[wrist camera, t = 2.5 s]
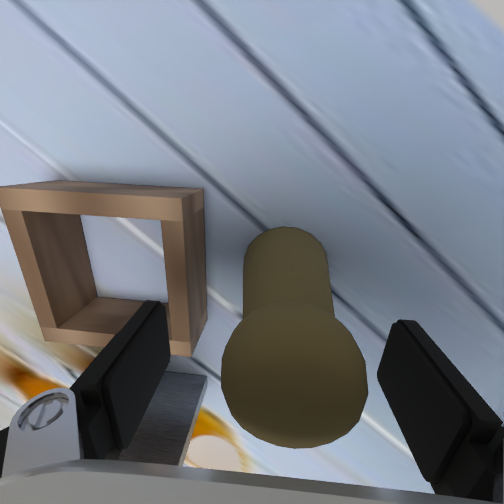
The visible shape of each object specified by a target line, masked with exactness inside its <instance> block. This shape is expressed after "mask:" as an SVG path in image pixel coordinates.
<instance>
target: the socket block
mask: <svg viewBox="0 0 504 504" xmlns="http://www.w3.org/2000/svg"><path fill="white" fill-rule="evenodd" d="M0 207H1V210H2V213H3V216H4V219H5V222H6V225H7V228H8V231H9V234H10V237H11V240H12V243H13V246H14V249H15V252H16V255H17V258H18V261H19V264H20V267H21V270H22V273H23V276H24V279H25V282H26V285H27V288H28V291H29V294H30V297H31V300H32V303H33V306H34V309H35V312H36V315H37V318H38V321H39V324H40V327H41V330H42V333H43V336H44V340H45V341H50V342H59V343H68V344H78V345H87V346H96V347H105V346H106V345H107V344H108V343H109V341H110V340H111V339H112V338H113V337H114V336H115V334H116V333H118V332H119V331H120V330H121V329H122V328H123V327H124V326H125V324H126V323H127V322H128V321H129V320H130V318H131V317H132V316H133V315H134V314H135V312H136V311H137V310H138V309H139V308H140V306H141V305H142V304H143V303H144V302H145V301H135V300H124V299H114V298H103V297H97V293H96V289H95V284H94V280H93V275H92V270H91V266H90V261H89V257H88V252H87V247H86V243H85V238H84V234H83V229H82V224H81V220H80V215H93V216H108V217H123V218H138V219H153V220H161V228H162V238H163V249H164V259H165V270H166V280H167V291H168V301H169V304H167V303H162V305H165V307H166V315H167V324H168V334H169V343H170V352H171V355H178V356H187V357H191V356H192V354H193V352H194V349H195V347H196V345H197V342H198V340H199V338H200V335H201V333H202V331H203V328H204V326H205V324H206V322H207V294H206V259H205V225H204V190H203V189H199V188H181V187H163V186H146V185H128V184H111V183H93V182H75V181H58V180H55V181H46V182H37V183H27V184H18V185H9V186H0Z"/></svg>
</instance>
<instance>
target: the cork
mask: <svg viewBox="0 0 504 504" xmlns="http://www.w3.org/2000/svg"><path fill="white" fill-rule="evenodd" d="M221 389H222V392H223V394H224V397H225V400H226V403H227V405H228V408H229V410H230V412H231V415H232V416H233V417H234V419H235V420H236V421H237V422H238V423H239V425H240V426H241V427H242V428H243V429H245V430H246V431H247V432H249V433H250V434H252V435H253V436H255V437H256V438H258V439H261V440H263V441H266V442H268V443H271V444H274V445H276V446H281V447H287V448H294V449H296V448H313V447H317V446H320V445H324V444H328V443H331V442H333V441H335V440H337V439H339V438H340V437H342V436H344V435H346V434H347V433H348V432H349V431H350V430H351V429H352V428H353V427H354V426H355V425H356V424H357V423H358V422H359V419H360V417H361V414H362V411H363V408H364V405H365V402H366V399H367V396H368V384H367V374H366V364H365V360H364V358H363V355H362V353H361V351H360V349H359V347H358V345H357V343H356V342H355V340H354V338H353V336H352V334H351V333H350V332H349V330H348V329H347V328H346V327H345V326H344V325H343V324H342V323H341V322H340V321H339V320H337V319H336V318H335V315H334V307H333V300H332V292H331V285H330V277H329V270H328V263H327V255H326V252H325V251H324V249H323V247H322V245H321V243H320V242H319V241H318V240H317V239H316V238H315V237H314V236H312V235H311V234H310V233H308V232H305V231H303V230H301V229H299V228H293V227H279V228H274V229H269V230H268V231H266V232H264V233H262V234H260V235H258V236H257V237H256V238H255V239H254V241H253V242H252V243H251V244H250V245H249V247H248V249H247V251H246V253H245V256H244V264H243V320H242V321H241V322H240V323H239V324H238V325H237V327H236V328H235V330H234V331H233V333H232V335H231V337H230V339H229V341H228V343H227V345H226V347H225V350H224V354H223V357H222V367H221Z"/></svg>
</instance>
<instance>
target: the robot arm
mask: <svg viewBox="0 0 504 504" xmlns="http://www.w3.org/2000/svg"><path fill="white" fill-rule="evenodd" d="M170 357H171V352H170V343H169V334H168V324H167V315H166V307H165V305H162V303H161V302H160V301H150V300H146V301H145V302H144V303H143V304H142V305H141V306H140V308H139V309H138V310H137V311H136V312H135V314H134V315H133V316H132V317H131V318H130V320H129V321H128V322H127V323H126V324H125V326H124V327H123V328H122V329H121V330H120V331H119V332H118V333H116V334H115V336H114V337H113V338H112V339H111V340H110V341H109V343H108V344H107V345H106V346H105V347H104V348H103V350H102V351H101V352H100V353H99V354H98V356H97V357H96V358H95V359H94V360H93V361H92V363H91V364H90V365H89V366H88V367H87V369H86V370H85V371H84V372H83V373H82V374H81V376H80V377H79V378H78V379H77V380H76V381H75V383H74V384H73V385H72V386H71V387H70V389H66V388H55V389H51V390H48V391H45V392H43V393H41V394H39V395H37V396H35V397H33V398H32V399H31V400H29V401H28V402H26V403H25V404H24V405H23V406H22V407H21V408H20V409H19V410H18V411H17V412H16V414H15V415H14V416H13V418H12V421H11V423H10V426H9V427H7V428H5V429H3V430H1V431H0V504H504V428H503V427H502V426H501V425H502V423H503V422H502V420H501V419H500V418H499V417H498V416H497V415H496V414H495V412H494V411H493V410H492V409H491V408H490V407H489V405H488V404H487V403H486V402H485V401H484V400H483V398H482V397H481V396H480V395H479V394H478V393H477V391H476V390H475V389H474V388H473V387H472V386H471V384H470V383H469V382H468V381H467V380H466V379H465V377H464V376H463V375H462V374H461V373H460V372H459V370H458V369H457V368H456V367H455V366H454V365H453V363H452V362H451V361H450V360H449V359H448V358H447V356H446V355H445V354H444V353H443V352H442V351H441V349H440V348H439V347H438V346H437V345H436V344H435V342H434V341H433V340H432V339H431V338H430V337H429V335H428V334H427V333H426V332H425V331H424V330H423V328H422V327H421V326H420V325H419V324H418V323H417V322H416V321H414V320H398V321H397V322H396V323H393V324H392V327H391V330H390V333H389V336H388V339H387V343H386V346H385V349H384V352H383V355H382V358H381V362H380V365H379V368H378V371H377V378H378V382H379V384H380V386H381V388H382V390H383V393H384V395H385V397H386V399H387V401H388V403H389V405H390V408H391V410H392V412H393V414H394V416H395V418H396V420H397V422H398V425H399V427H400V429H401V431H402V433H403V435H404V437H405V440H406V442H407V444H408V446H409V448H410V450H411V452H412V455H413V457H414V459H415V461H416V463H417V465H418V467H419V469H420V472H421V474H422V476H423V477H424V479H425V480H426V481H427V482H430V484H431V486H432V488H433V490H434V492H435V494H430V493H422V492H413V491H404V490H396V489H387V488H378V487H370V486H361V485H352V484H344V483H335V482H325V481H316V480H307V479H298V478H289V477H280V476H270V475H261V474H252V473H243V472H233V471H223V470H213V469H204V468H194V467H184V466H175V465H165V464H154V463H142V462H130V461H117V460H118V458H119V456H120V454H121V452H122V450H123V449H127V448H128V447H129V445H130V443H131V441H132V439H133V437H134V435H135V433H136V431H137V428H138V426H139V424H140V422H141V420H142V418H143V416H144V414H145V412H146V410H147V408H148V406H149V404H150V401H151V399H152V397H153V395H154V393H155V391H156V389H157V387H158V385H159V383H160V381H161V379H162V377H163V374H164V372H165V370H166V368H167V366H168V364H169V362H170ZM104 459H106V460H104Z"/></svg>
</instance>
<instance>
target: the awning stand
mask: <svg viewBox="0 0 504 504" xmlns="http://www.w3.org/2000/svg"><path fill="white" fill-rule="evenodd" d="M206 388H207V376H200V375H191V374H182V373H174V372H164V374H163V377H162V379H161V381H160V383H159V385H158V387H157V389H156V391H155V393H154V395H153V397H152V399H151V401H150V404H149V406H148V408H147V410H146V412H145V414H144V416H143V418H142V420H141V422H140V424H139V426H138V428H137V431H136V433H135V435H134V437H133V439H132V441H131V443H130V445H129V447H128V448H127V449H123V450H122V452H121V454H120V456H119V458H118V460H117V461H130V462H142V463H154V464H165V465H175V466H183V463H184V459H185V456H186V453H187V450H188V446H189V443H190V440H191V437H192V433H193V430H194V427H195V424H196V420H197V417H198V414H199V411H200V407H201V404H202V401H203V398H204V394H205V391H206ZM104 460H106V459H104Z"/></svg>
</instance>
